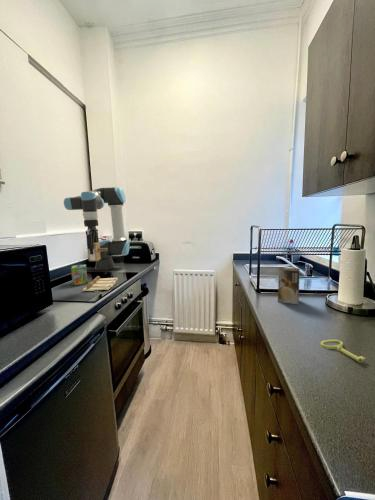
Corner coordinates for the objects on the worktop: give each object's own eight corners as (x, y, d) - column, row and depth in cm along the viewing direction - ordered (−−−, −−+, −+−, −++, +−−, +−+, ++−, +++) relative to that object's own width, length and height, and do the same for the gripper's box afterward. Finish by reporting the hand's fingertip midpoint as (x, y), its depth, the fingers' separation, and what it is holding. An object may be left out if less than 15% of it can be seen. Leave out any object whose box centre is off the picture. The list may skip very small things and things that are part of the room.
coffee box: (298, 300, 110) (300, 268, 107) (298, 304, 104) (300, 271, 102) (278, 297, 114) (279, 266, 111) (277, 301, 108) (278, 269, 106)
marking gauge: (92, 259, 136) (90, 242, 135) (109, 258, 137) (107, 242, 135) (88, 261, 130) (86, 244, 129) (106, 260, 131) (104, 243, 129)
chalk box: (73, 282, 151) (70, 260, 149) (87, 280, 155) (85, 259, 153) (72, 286, 143) (69, 263, 141) (88, 283, 147) (85, 261, 144)
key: (361, 367, 63) (361, 360, 63) (317, 346, 74) (317, 340, 73) (372, 358, 67) (372, 351, 67) (328, 339, 77) (329, 333, 77)
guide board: (95, 280, 153) (94, 275, 152) (117, 279, 154) (117, 274, 153) (82, 292, 131) (82, 286, 130) (109, 290, 132) (108, 284, 131)
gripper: (89, 219, 139) (93, 255, 142) (77, 220, 120) (82, 262, 124) (102, 218, 139) (105, 255, 143) (91, 219, 120) (96, 261, 124)
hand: (94, 258), depth 133 cm, fingers closed on marking gauge, 6 cm apart
